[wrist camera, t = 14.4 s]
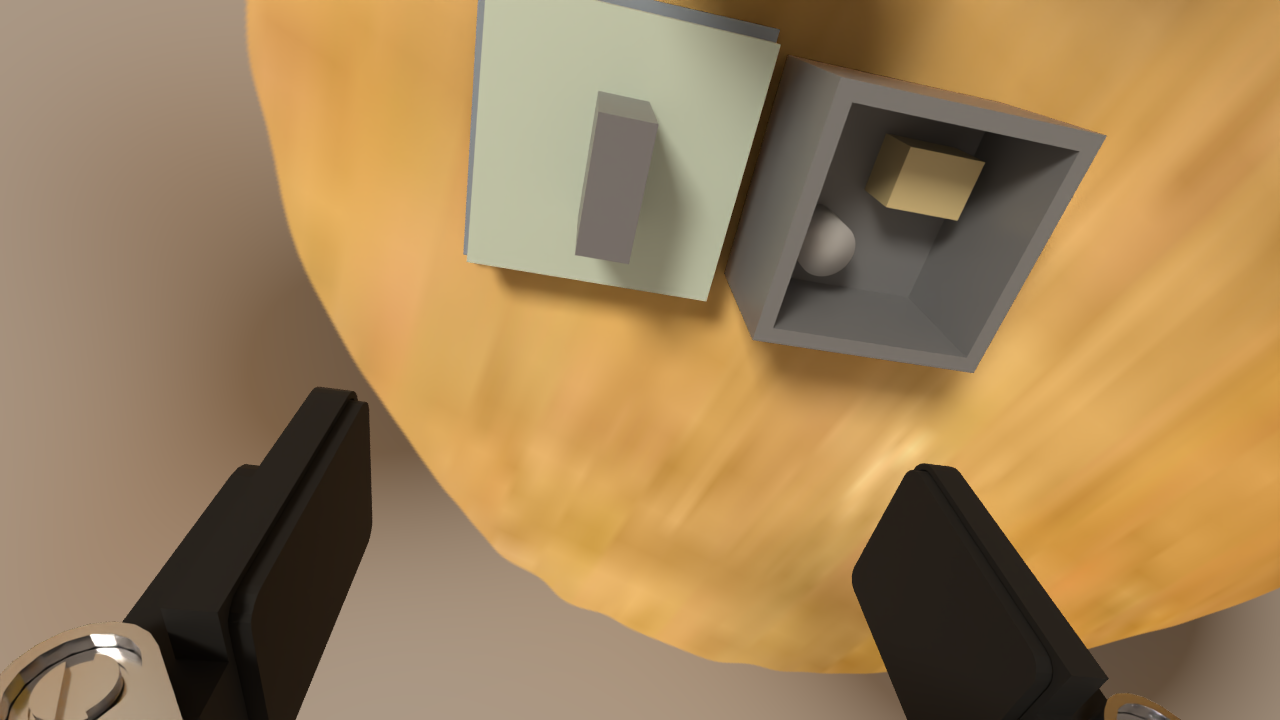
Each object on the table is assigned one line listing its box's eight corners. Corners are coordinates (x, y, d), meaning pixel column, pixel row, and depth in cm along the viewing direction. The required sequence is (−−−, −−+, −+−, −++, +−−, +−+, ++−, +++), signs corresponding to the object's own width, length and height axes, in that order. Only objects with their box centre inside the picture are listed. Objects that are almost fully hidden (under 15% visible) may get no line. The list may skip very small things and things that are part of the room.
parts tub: (1001, 102, 33) (1106, 135, 26) (908, 303, 39) (973, 372, 32) (787, 54, 31) (840, 76, 24) (724, 273, 37) (752, 339, 30)
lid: (769, 40, 30) (815, 57, 24) (700, 284, 36) (722, 349, 30) (494, -25, 28) (464, -26, 22) (473, 246, 34) (446, 306, 28)
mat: (774, 28, 30) (780, 29, 30) (703, 285, 38) (706, 293, 37) (483, -39, 28) (480, -40, 28) (466, 247, 35) (463, 254, 35)
